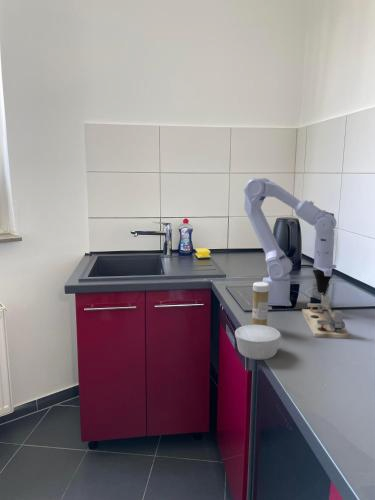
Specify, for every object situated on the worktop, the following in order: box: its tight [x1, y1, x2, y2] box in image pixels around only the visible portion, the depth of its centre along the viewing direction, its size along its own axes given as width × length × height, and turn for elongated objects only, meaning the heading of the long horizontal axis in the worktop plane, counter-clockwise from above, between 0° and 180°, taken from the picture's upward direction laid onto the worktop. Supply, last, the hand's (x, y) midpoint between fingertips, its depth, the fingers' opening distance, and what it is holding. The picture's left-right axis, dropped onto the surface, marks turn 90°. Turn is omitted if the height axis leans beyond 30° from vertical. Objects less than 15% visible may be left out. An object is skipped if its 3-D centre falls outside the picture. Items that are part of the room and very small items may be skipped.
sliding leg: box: [306, 293, 332, 313], centre depth 125 cm, size 7×3×5 cm, turn 84°
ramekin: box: [234, 324, 282, 361], centre depth 99 cm, size 11×11×5 cm
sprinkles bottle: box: [251, 281, 269, 326], centre depth 114 cm, size 5×5×14 cm
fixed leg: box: [317, 309, 346, 331], centre depth 110 cm, size 7×3×5 cm, turn 84°
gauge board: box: [301, 308, 350, 339], centre depth 118 cm, size 9×20×2 cm, turn 174°
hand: (321, 292), depth 130 cm, fingers closed
